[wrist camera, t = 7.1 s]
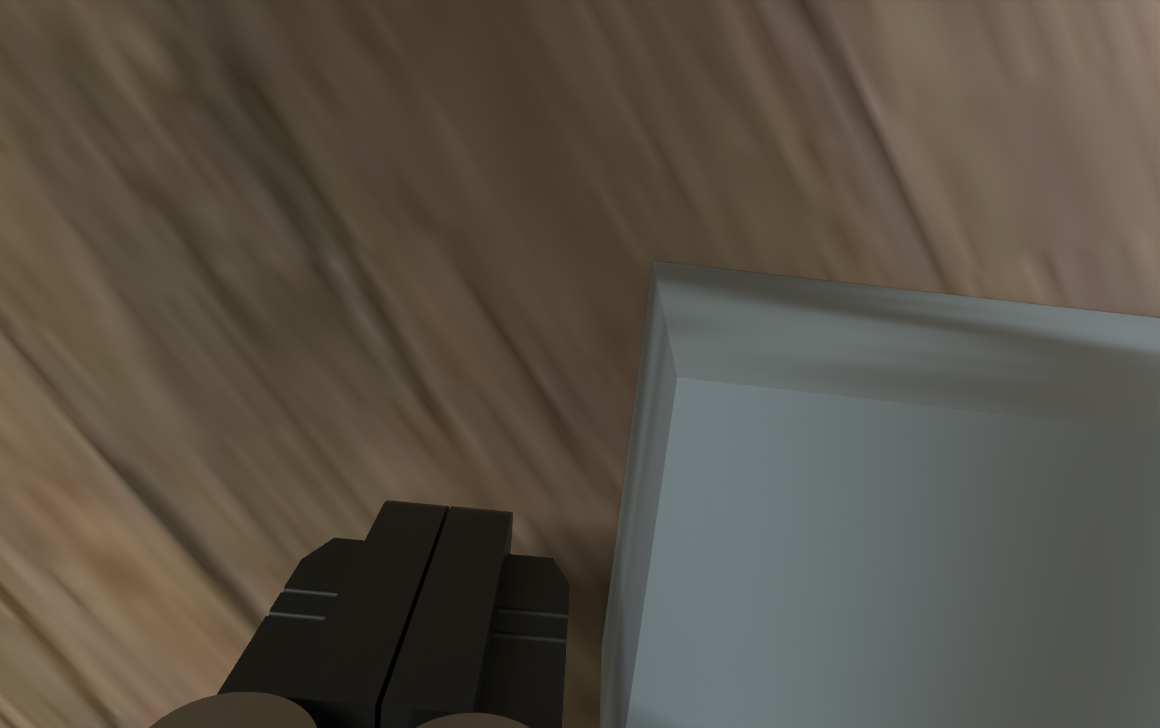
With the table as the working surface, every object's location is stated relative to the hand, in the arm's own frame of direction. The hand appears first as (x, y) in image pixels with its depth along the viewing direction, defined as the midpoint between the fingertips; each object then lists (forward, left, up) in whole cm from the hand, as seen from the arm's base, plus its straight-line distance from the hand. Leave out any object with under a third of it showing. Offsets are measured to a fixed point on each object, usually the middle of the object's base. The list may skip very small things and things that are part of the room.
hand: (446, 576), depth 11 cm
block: (+6, 0, -3) cm, 6 cm away
